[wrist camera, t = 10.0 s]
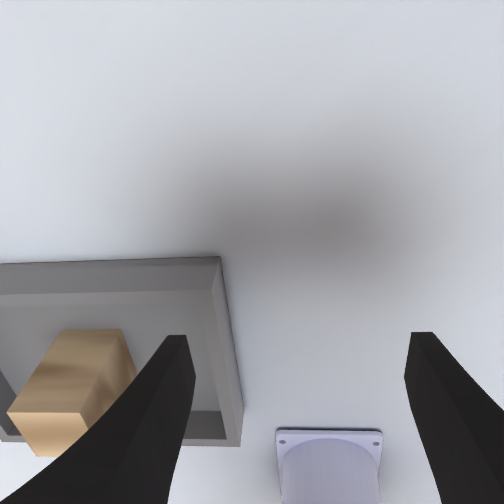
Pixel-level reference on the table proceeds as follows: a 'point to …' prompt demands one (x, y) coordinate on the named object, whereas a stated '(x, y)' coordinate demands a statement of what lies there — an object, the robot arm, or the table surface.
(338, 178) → the table surface
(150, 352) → the tray
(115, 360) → the maple block
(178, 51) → the table surface
